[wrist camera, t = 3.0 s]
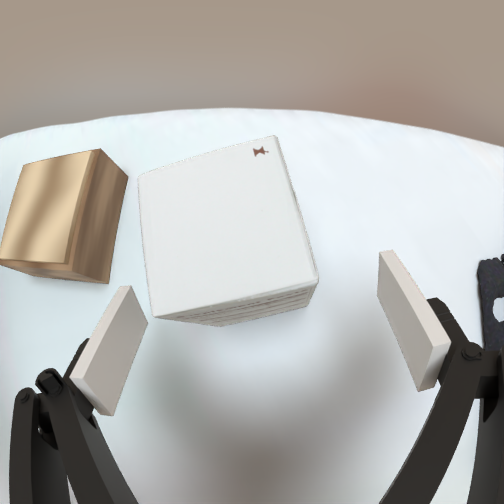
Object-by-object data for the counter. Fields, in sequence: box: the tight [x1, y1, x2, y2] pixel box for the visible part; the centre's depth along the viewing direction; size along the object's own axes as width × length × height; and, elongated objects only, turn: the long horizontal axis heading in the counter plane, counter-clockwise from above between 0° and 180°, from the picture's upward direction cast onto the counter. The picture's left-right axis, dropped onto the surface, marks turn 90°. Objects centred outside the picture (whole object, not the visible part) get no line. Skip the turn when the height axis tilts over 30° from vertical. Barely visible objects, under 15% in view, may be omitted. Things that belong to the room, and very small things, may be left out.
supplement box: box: [138, 135, 319, 327], centre depth 19 cm, size 7×7×13 cm
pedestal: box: [0, 148, 128, 284], centre depth 26 cm, size 11×11×6 cm
